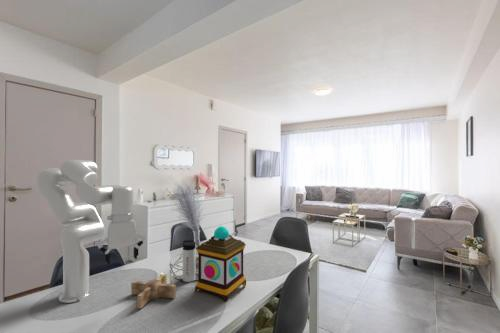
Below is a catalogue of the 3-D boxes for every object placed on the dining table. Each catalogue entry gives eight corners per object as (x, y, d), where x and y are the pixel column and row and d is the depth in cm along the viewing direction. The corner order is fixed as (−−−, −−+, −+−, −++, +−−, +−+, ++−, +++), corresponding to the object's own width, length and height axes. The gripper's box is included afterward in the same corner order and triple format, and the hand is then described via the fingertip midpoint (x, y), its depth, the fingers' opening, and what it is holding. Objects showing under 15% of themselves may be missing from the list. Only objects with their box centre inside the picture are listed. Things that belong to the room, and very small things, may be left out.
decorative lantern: (216, 276, 129) (216, 219, 129) (250, 285, 120) (250, 224, 120) (190, 294, 112) (190, 228, 111) (227, 306, 102) (227, 234, 102)
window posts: (159, 283, 119) (159, 273, 119) (170, 280, 123) (170, 270, 123) (162, 288, 115) (162, 277, 115) (174, 284, 118) (174, 274, 118)
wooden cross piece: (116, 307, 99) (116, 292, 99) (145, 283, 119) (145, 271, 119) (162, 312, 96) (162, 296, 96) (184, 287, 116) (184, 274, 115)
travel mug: (189, 277, 129) (190, 238, 129) (198, 281, 124) (198, 241, 124) (179, 281, 124) (179, 241, 124) (187, 285, 120) (187, 244, 120)
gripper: (97, 222, 91) (97, 268, 91) (147, 216, 101) (147, 258, 101) (96, 218, 97) (95, 262, 97) (143, 213, 107) (143, 253, 107)
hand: (122, 260), depth 99 cm, fingers open, 9 cm apart
